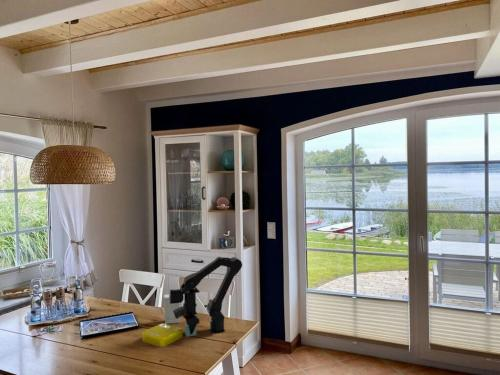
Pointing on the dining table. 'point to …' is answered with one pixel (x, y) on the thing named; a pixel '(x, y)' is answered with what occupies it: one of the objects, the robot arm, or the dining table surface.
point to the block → (189, 331)
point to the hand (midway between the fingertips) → (190, 332)
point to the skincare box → (170, 311)
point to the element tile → (162, 335)
